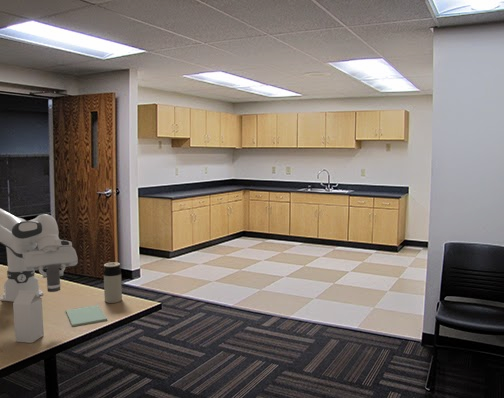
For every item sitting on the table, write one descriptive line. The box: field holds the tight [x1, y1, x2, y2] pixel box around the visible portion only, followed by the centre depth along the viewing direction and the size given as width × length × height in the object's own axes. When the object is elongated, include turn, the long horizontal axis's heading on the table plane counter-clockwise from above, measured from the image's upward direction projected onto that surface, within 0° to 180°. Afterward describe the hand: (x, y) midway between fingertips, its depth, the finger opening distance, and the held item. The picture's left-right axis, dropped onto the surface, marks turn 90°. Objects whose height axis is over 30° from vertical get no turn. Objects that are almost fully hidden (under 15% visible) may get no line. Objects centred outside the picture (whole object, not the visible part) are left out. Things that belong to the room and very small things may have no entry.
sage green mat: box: [65, 304, 108, 327], centre depth 200 cm, size 20×14×1 cm
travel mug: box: [103, 261, 123, 304], centre depth 220 cm, size 8×8×18 cm
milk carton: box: [12, 290, 45, 344], centre depth 175 cm, size 7×7×19 cm
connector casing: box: [46, 265, 61, 293], centre depth 186 cm, size 5×5×10 cm
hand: (53, 276), depth 186 cm, fingers closed on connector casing, 5 cm apart
